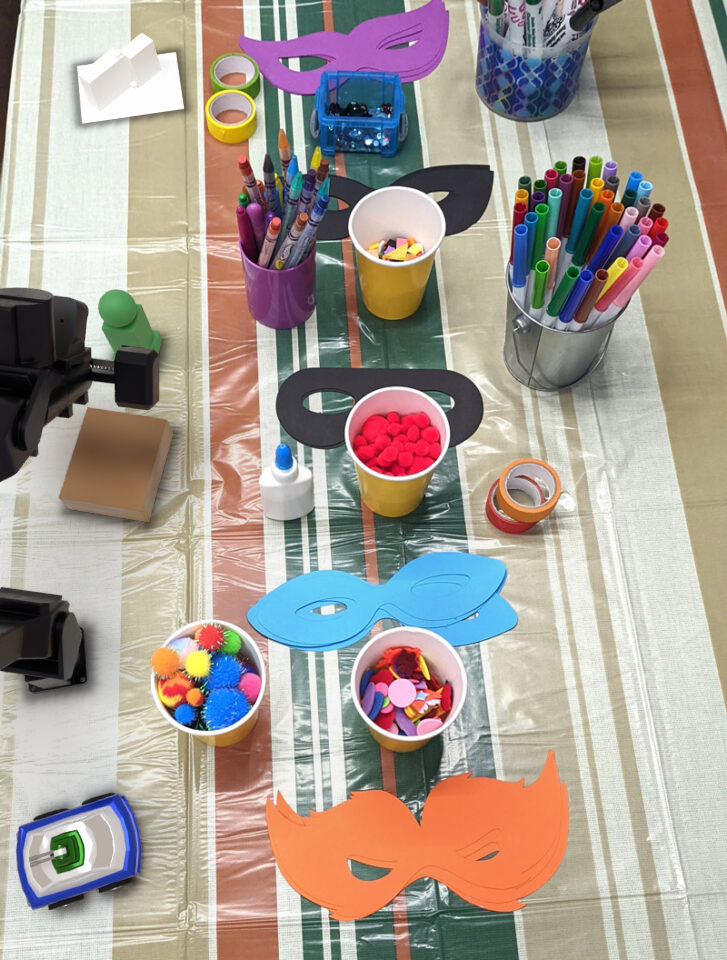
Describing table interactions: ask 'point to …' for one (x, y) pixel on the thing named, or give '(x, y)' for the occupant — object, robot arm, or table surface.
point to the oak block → (117, 464)
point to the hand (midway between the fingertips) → (99, 348)
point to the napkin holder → (129, 83)
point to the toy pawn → (126, 322)
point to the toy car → (78, 851)
